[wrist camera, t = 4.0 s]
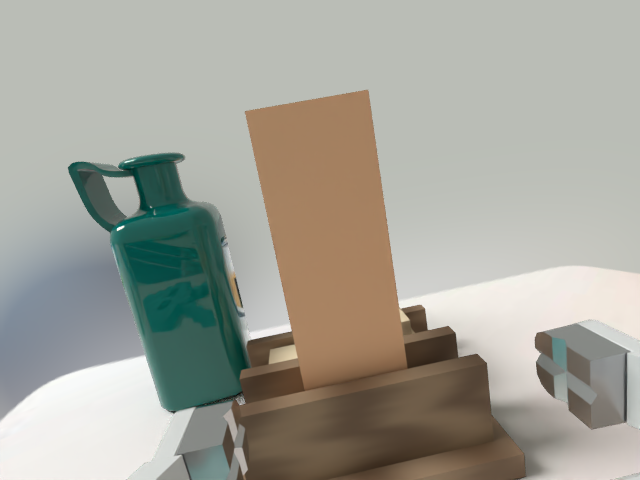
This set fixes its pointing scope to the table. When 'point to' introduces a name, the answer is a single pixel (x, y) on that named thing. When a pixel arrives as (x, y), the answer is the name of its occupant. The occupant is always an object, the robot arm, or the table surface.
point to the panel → (330, 236)
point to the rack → (377, 417)
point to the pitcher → (173, 279)
